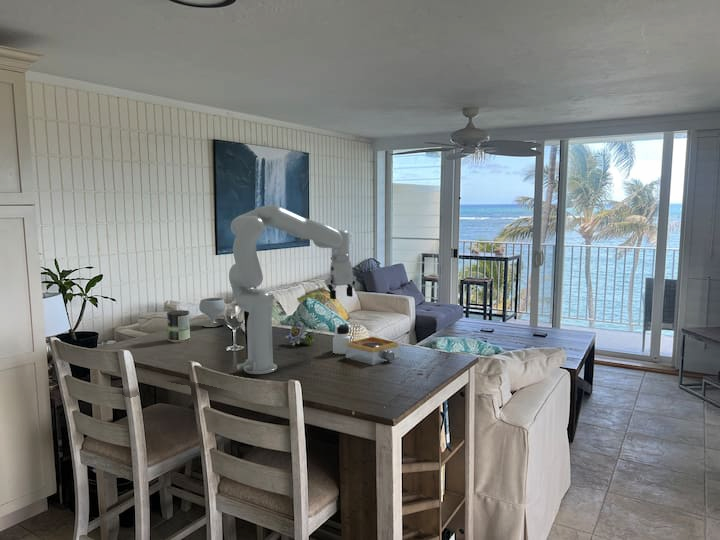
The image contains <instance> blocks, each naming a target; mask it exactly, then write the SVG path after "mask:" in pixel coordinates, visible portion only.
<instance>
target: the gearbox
mask: <svg viewBox="0 0 720 540" xmlns="http://www.w3.org/2000/svg"><path fill="white" fill-rule="evenodd" d="M398 357H399V358H400V345H399V342H398V341H393V340H389V339H384V338H380V337H375V336H370V337H369V336H368V337H365V338H361V339H356V340H353V341H352V340H351V342H348V343H347V346H346V354H345V358H346V359H349V358H350V359H349V360H353V361H356V360H357V362H360V363H363V362H364V364H368V365H370V366H375V365H377V364H381V362H382V363H384V361H385V362H388V360H389V362H392V361H394V360H395V359H398Z"/></svg>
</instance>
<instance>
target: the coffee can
mask: <svg viewBox="0 0 720 540" xmlns="http://www.w3.org/2000/svg"><path fill="white" fill-rule="evenodd" d="M166 317H167V336H168V337H167V338H168V339H170V340H185V339H188V338H190V339H191V334H190V333H191V331H190V330H191V329H190V311H189V310H183V309H181V310H180V309H179V310H173V311H172V310H171V311H168V312H167V313H166Z"/></svg>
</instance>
